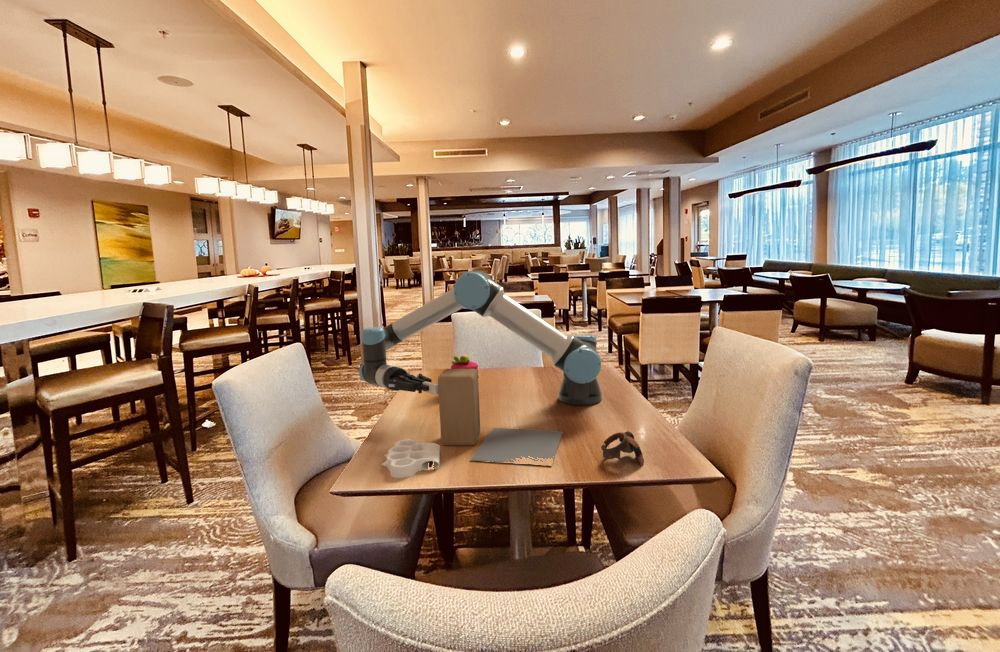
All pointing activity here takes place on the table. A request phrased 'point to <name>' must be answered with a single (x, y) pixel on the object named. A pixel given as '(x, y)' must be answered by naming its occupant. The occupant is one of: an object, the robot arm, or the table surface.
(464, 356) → the cake
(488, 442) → the rubber mat
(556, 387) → the table surface
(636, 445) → the brown hollow looped part
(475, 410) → the wooden block
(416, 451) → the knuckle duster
